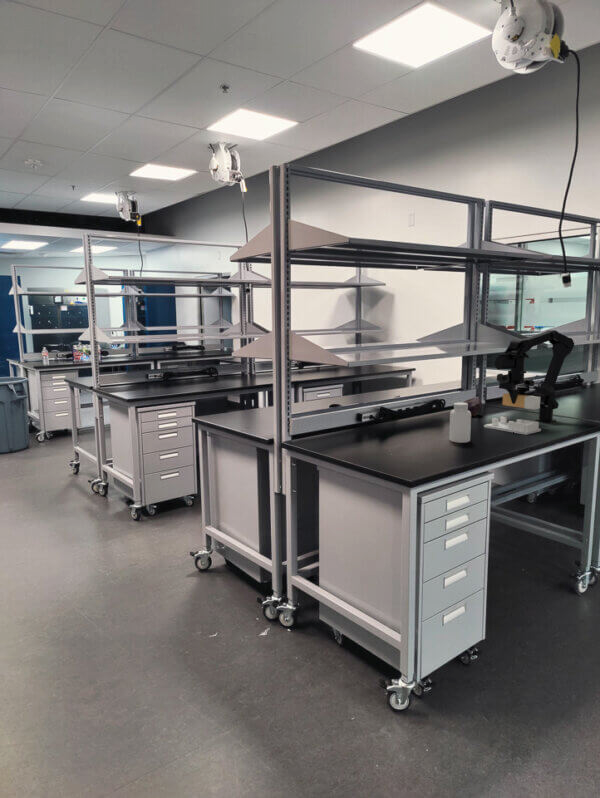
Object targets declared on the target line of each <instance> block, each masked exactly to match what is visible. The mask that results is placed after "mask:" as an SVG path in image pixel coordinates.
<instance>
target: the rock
mask: <svg viewBox="0 0 600 798" xmlns="http://www.w3.org/2000/svg"><path fill="white" fill-rule="evenodd" d="M462 403H467V404H468V409H467V410H469V411H470V412H471V417H472V416H473V417H476V416H477V415H478V414H479V412H480V410H481V408H482V406H483V403H482V401H481V399H480V398H479V397H476V396H474V397H471V398H469V399H466V400H464V401H463V402H462Z"/></svg>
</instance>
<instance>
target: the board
mask: <svg viewBox="0 0 600 798" xmlns="http://www.w3.org/2000/svg"><path fill="white" fill-rule="evenodd" d="M507 421H508V422H507ZM539 422H540V421H536V420H535V421H533V420H528V419H520V418H517V419H516V421H513V420H508V419H507V416H500V417H499V418H496V417H494V418H491V423H486V424H484V425H483V427H484V428H485V429H492V430H497V431H502V432H509V433H513V432H514V433H515V434H520V435H525V436H526V435H530V434H531V435H532V434H535V433H538V432H541V431H542V428H539V427H540V426H539Z"/></svg>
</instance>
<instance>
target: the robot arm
mask: <svg viewBox="0 0 600 798" xmlns="http://www.w3.org/2000/svg"><path fill="white" fill-rule="evenodd" d="M547 342H548V343H549V344H550V345H552V347H551V350H552V357H551V360H550V363H549V366H548V369H547V371H546V373H545V377H544V380H543V382H542V384H541V385H540V386H536V387H535V389H534V393H533V394H532V396H536V397H540V408H539V409H538V410H539V413H538V418H536V419H535V421H536V422H544V423H552V422H556V421H557V419H555V418H554V410H556V409H559V406H560V404H559V403H558V401H557V400H556V399H555V397H556V391H555V385H556V383H557V380H558V377H559V374H560V372H561V370H562V367H563V363H564V361H565V359H566V357H568V356H569V355H570V354H571V352H572V350H573V349H574V348H575V347H574V346H575V342H574V340H573V338H572V337H568V336H567V335H565V334H562V333H560V332H559V331H558V330H555V329H554V330H553V329H549V330H546V331H544V332H542V333H538V334H536V335H533V336H532V335H531V336H530V337H527V338H518V339H513V340H510V342H509V345H508V346H507V348H506V350H505V351H504V352H503V353H497V356H496V357H495V360H494V362H493V363H494V367H495V368H496V369H497V370H508V371H507V374H503V373H498V374H496V381H497V382H498V389H502V390H506V391H507V392H508V393H509V395H510V398H511V401H512V404H515V402H516V399H517V396H518V395H525V394H526V393H527V391H528V389H530V387H534V386H535V381H534V380H533V379H531V378H529V379H528V378H525V374H527V370H525V366H526V359H529V358H530V356H529V355H528V354H527V352H529V351H530V350H531V349H532V348H533V347H536V346H539V345H541V344H544V343H547ZM528 386H529V387H528Z"/></svg>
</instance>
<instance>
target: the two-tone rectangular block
mask: <svg viewBox="0 0 600 798" xmlns="http://www.w3.org/2000/svg"><path fill="white" fill-rule="evenodd" d="M502 406H507V407H515V408H521V409H528V410H540V397H536V396H534V395H525V394H524V395H518V396H517V399H516V402H515V404H512V401H511V398H510V395H509V392H508V393H502Z"/></svg>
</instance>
